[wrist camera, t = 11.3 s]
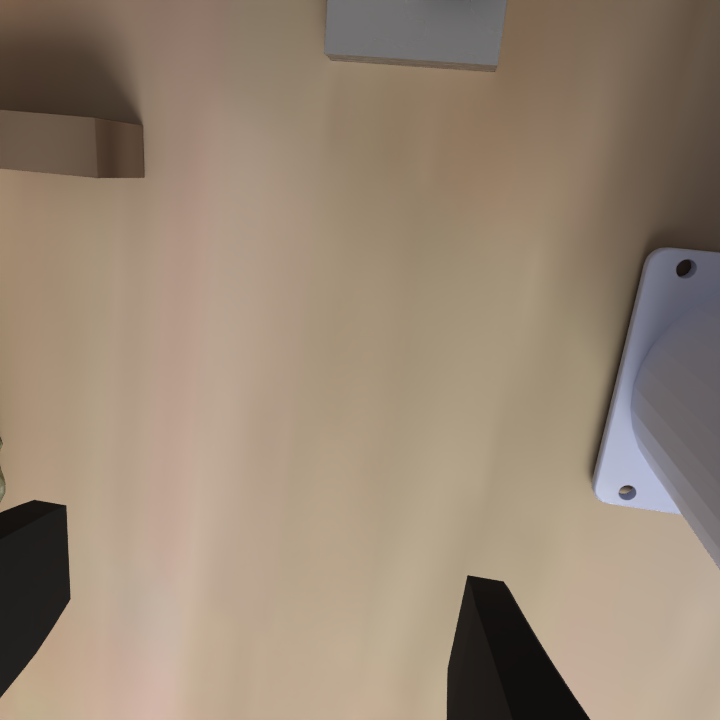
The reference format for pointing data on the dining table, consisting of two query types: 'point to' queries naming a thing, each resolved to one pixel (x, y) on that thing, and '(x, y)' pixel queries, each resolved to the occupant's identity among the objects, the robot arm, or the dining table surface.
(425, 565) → the dining table surface
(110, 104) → the dining table surface
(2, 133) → the frame
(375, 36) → the grey block
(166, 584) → the dining table surface
